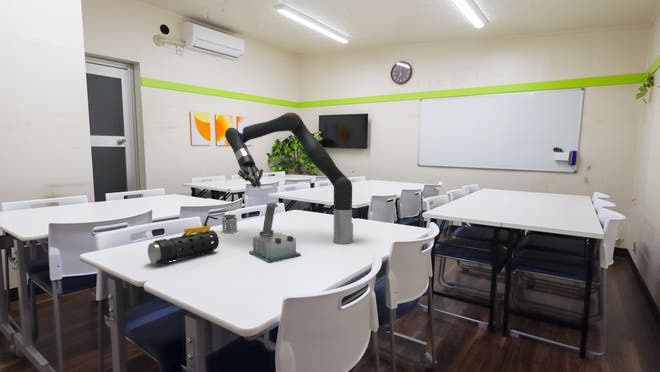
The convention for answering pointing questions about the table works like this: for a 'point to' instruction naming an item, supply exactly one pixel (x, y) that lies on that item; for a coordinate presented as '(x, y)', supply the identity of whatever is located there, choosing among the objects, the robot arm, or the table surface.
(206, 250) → the muzzle brake
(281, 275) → the table surface
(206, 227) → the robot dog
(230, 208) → the french press
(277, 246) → the board
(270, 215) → the grey lever
